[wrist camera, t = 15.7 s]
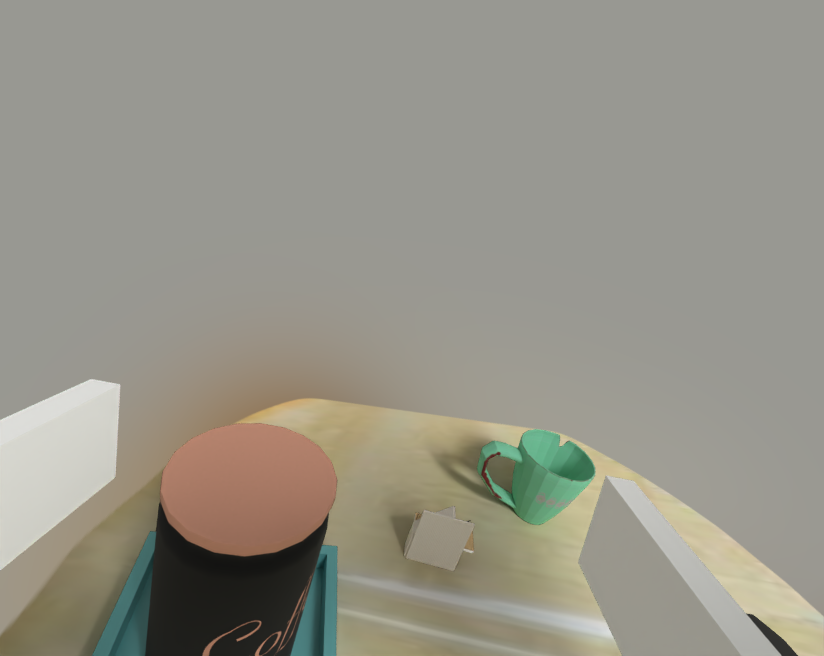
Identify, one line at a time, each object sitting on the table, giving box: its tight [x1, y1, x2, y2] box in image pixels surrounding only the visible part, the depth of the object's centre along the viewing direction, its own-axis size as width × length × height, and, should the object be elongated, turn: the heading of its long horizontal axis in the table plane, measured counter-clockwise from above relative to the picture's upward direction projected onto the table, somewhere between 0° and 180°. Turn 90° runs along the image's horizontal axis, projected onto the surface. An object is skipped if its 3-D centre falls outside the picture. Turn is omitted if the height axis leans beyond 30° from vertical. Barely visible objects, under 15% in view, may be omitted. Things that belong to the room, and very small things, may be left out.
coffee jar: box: [145, 423, 337, 656], centre depth 32 cm, size 11×11×18 cm
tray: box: [92, 531, 337, 656], centre depth 35 cm, size 17×17×3 cm
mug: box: [477, 429, 595, 525], centre depth 59 cm, size 15×10×10 cm
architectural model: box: [404, 506, 475, 571], centre depth 49 cm, size 3×7×7 cm, turn 86°
